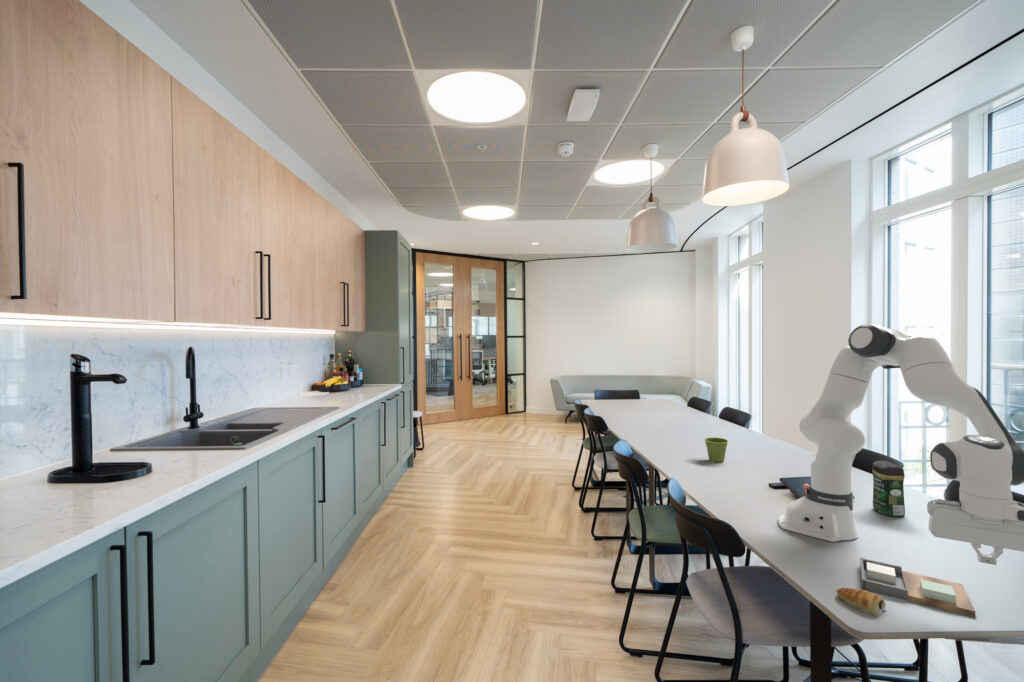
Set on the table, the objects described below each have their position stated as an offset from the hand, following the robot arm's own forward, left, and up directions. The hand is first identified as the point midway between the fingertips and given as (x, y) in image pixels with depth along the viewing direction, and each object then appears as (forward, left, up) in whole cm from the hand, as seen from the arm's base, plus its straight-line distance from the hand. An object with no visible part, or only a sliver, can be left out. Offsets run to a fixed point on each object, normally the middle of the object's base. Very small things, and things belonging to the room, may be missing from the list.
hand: (986, 562), depth 108 cm
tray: (-19, +2, -12) cm, 23 cm away
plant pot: (-81, +101, -12) cm, 130 cm away
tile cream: (-20, +5, -11) cm, 23 cm away
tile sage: (-9, -1, -10) cm, 14 cm away
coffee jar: (-14, +62, -12) cm, 65 cm away
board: (-9, +2, -12) cm, 15 cm away
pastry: (-24, -13, -12) cm, 30 cm away
